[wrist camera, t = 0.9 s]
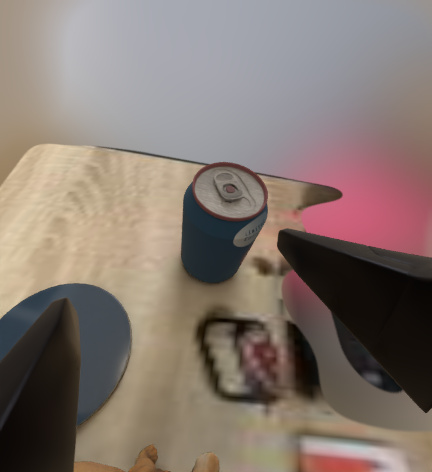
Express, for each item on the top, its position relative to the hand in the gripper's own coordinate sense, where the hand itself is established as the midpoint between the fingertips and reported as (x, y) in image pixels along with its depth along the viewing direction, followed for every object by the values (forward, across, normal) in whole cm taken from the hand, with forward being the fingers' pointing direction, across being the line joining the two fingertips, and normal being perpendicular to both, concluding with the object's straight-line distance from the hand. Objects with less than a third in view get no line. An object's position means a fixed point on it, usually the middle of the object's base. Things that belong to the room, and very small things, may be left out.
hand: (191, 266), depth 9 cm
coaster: (+9, +10, +12) cm, 18 cm away
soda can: (+13, -6, +10) cm, 17 cm away
